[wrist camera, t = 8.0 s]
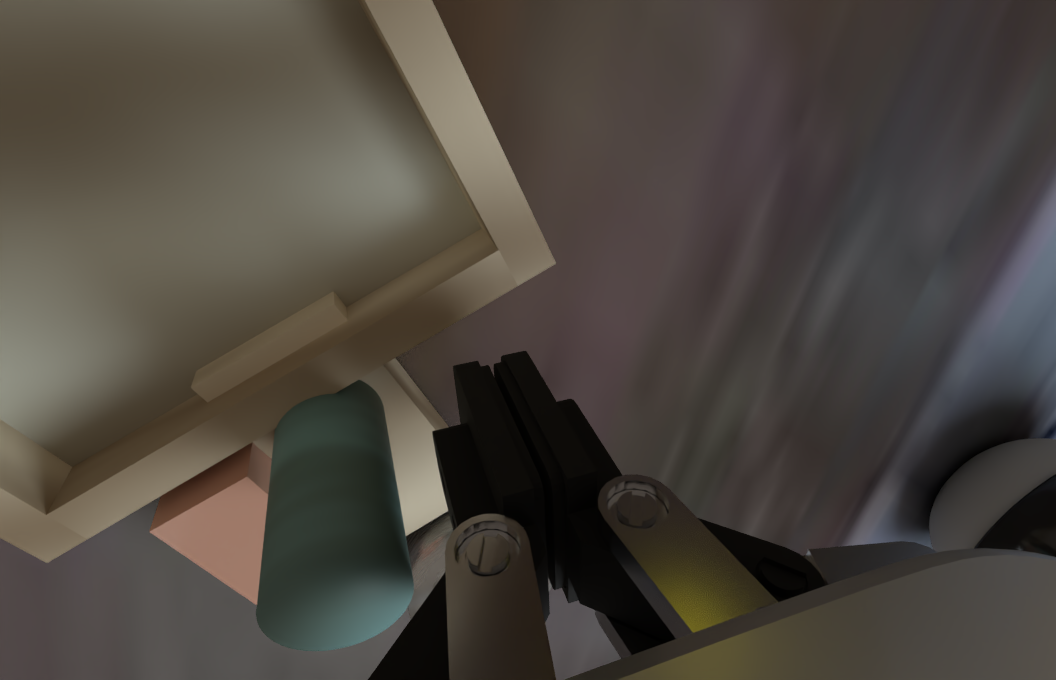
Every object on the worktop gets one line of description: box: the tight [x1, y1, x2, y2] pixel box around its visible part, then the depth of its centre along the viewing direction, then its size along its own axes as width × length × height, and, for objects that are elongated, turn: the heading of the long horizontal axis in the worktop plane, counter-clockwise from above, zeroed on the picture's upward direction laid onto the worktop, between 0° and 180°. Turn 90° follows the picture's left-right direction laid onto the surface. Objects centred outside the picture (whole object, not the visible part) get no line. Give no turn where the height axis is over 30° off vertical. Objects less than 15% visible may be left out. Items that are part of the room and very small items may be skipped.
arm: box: [0, 0, 556, 651], centre depth 9 cm, size 19×13×7 cm
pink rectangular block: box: [149, 442, 272, 605], centre depth 15 cm, size 2×4×3 cm, turn 24°
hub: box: [406, 511, 552, 619], centre depth 18 cm, size 5×5×3 cm
